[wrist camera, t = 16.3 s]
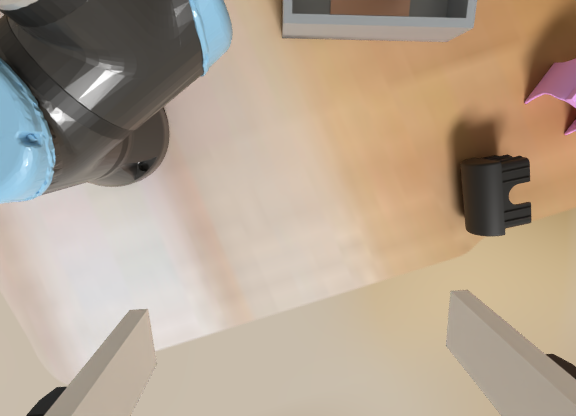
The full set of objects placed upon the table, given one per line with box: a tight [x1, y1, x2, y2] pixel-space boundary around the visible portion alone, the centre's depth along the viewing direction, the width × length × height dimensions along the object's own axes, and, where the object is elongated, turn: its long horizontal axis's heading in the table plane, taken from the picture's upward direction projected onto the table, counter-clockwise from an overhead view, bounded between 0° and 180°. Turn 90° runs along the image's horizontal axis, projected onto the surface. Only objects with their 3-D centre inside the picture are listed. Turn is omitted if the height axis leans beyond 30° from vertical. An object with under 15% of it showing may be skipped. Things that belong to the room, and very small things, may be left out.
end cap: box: [460, 155, 531, 236], centre depth 45 cm, size 10×7×7 cm
